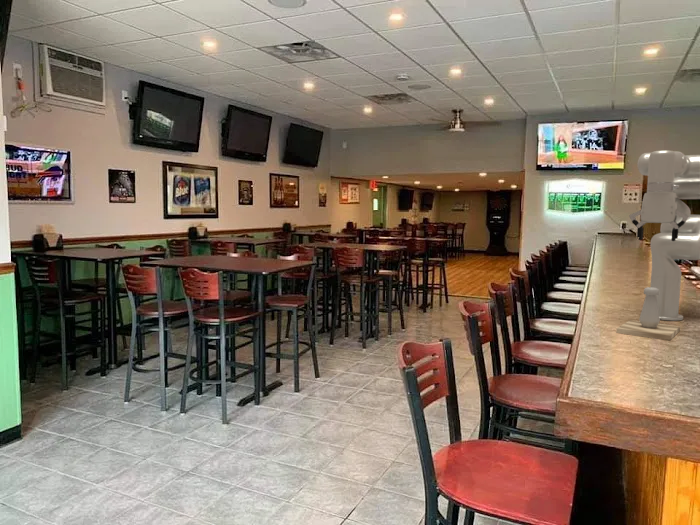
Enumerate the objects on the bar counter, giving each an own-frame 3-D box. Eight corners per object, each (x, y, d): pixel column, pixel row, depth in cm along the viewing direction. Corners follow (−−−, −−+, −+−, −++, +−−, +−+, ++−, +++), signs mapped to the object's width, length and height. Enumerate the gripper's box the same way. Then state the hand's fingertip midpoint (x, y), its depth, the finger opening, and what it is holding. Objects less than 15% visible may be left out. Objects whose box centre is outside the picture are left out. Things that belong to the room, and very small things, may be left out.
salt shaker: (662, 329, 168) (664, 289, 167) (642, 328, 169) (645, 288, 168) (655, 325, 174) (657, 286, 173) (636, 324, 175) (638, 286, 174)
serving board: (629, 324, 183) (629, 319, 183) (679, 330, 174) (680, 326, 174) (616, 332, 170) (616, 328, 170) (669, 340, 160) (670, 335, 160)
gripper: (692, 188, 172) (688, 240, 174) (633, 189, 183) (630, 238, 185) (689, 188, 166) (685, 242, 168) (628, 189, 177) (625, 239, 179)
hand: (656, 240), depth 176 cm, fingers open, 9 cm apart
